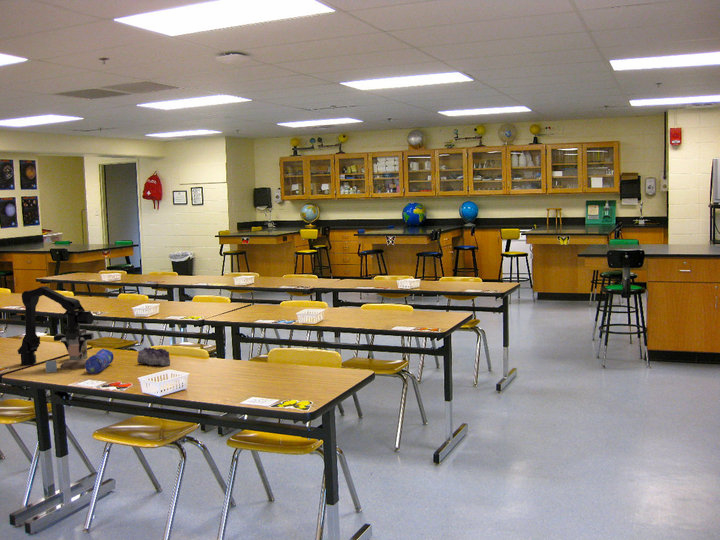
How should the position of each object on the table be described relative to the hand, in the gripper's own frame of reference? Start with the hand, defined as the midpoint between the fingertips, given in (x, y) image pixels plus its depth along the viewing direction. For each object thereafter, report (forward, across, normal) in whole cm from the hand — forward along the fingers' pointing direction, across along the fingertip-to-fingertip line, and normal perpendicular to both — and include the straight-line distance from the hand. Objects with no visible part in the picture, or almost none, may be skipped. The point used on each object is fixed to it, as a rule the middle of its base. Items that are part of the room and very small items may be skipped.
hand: (74, 353), depth 358 cm
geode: (+7, +41, -3) cm, 42 cm away
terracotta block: (+1, 0, 0) cm, 1 cm away
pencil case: (+7, +14, -10) cm, 19 cm away
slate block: (+7, -10, -9) cm, 15 cm away
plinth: (+7, 0, 0) cm, 7 cm away
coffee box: (+7, -2, +18) cm, 20 cm away
